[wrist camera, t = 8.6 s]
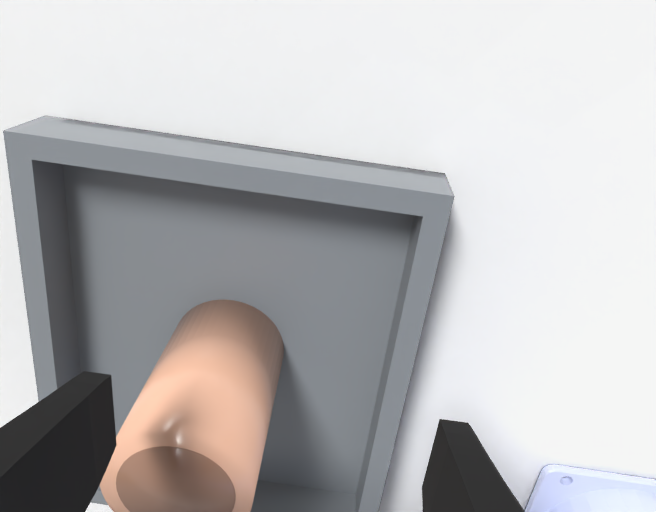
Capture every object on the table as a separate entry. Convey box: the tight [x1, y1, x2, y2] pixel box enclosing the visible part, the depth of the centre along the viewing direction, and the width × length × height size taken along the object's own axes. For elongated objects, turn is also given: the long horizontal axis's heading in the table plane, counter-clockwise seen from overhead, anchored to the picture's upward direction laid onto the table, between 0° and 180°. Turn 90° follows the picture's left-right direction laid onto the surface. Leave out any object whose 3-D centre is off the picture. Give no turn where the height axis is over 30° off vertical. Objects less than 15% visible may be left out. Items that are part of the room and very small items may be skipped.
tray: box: [3, 116, 454, 512], centre depth 21 cm, size 14×16×2 cm
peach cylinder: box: [100, 300, 284, 512], centre depth 19 cm, size 4×4×7 cm
